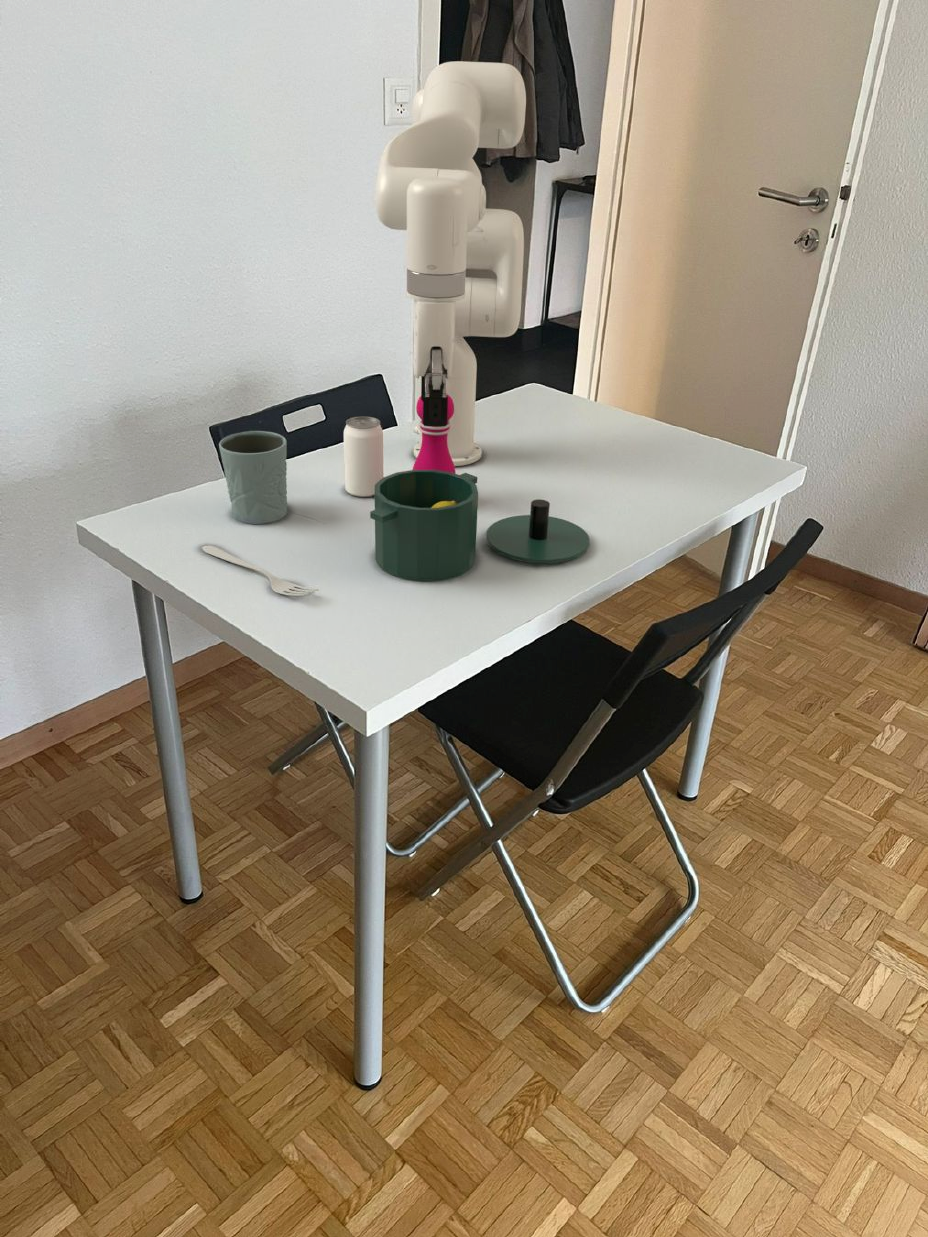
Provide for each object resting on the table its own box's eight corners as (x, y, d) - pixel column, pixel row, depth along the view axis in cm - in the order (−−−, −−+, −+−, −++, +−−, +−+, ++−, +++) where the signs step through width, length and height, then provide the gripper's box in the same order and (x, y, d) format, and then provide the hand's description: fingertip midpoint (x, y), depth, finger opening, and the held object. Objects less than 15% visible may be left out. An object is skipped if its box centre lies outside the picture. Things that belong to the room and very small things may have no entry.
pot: (341, 564, 141) (339, 494, 136) (433, 523, 155) (435, 457, 149) (415, 598, 133) (415, 525, 128) (505, 551, 147) (510, 483, 141)
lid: (464, 543, 149) (466, 503, 145) (527, 513, 159) (530, 474, 156) (548, 577, 140) (552, 535, 137) (608, 543, 151) (613, 502, 147)
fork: (212, 543, 146) (211, 532, 145) (321, 599, 132) (321, 588, 131) (194, 550, 144) (193, 539, 143) (303, 608, 130) (302, 596, 129)
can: (353, 500, 161) (352, 430, 155) (339, 486, 166) (337, 418, 160) (389, 494, 164) (389, 425, 158) (374, 480, 169) (373, 413, 163)
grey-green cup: (300, 519, 154) (296, 446, 148) (238, 531, 150) (232, 457, 144) (276, 496, 162) (271, 426, 156) (217, 507, 157) (209, 436, 151)
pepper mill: (402, 499, 162) (403, 381, 152) (433, 488, 167) (435, 372, 157) (433, 513, 158) (436, 392, 148) (464, 500, 163) (468, 382, 153)
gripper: (405, 268, 132) (405, 392, 141) (407, 299, 117) (406, 435, 126) (461, 270, 132) (457, 393, 141) (469, 300, 118) (464, 436, 126)
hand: (433, 413), depth 134 cm, fingers open, 9 cm apart
